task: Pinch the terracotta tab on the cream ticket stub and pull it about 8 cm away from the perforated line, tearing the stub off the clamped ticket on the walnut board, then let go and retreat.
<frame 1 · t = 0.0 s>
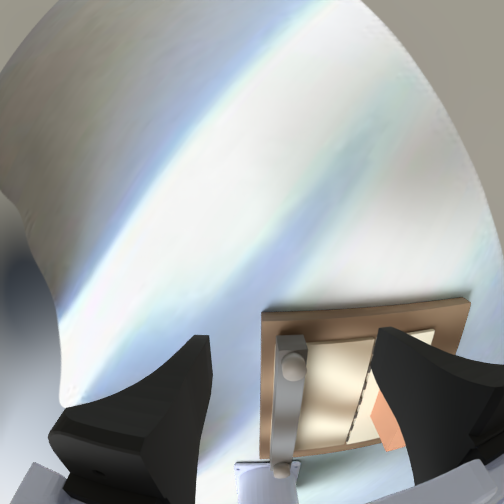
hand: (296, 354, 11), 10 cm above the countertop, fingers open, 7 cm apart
ticket board: (362, 387, 24), on the countertop
ticket stub: (398, 411, 20), point 4 cm above the countertop, slide at 0.0 cm
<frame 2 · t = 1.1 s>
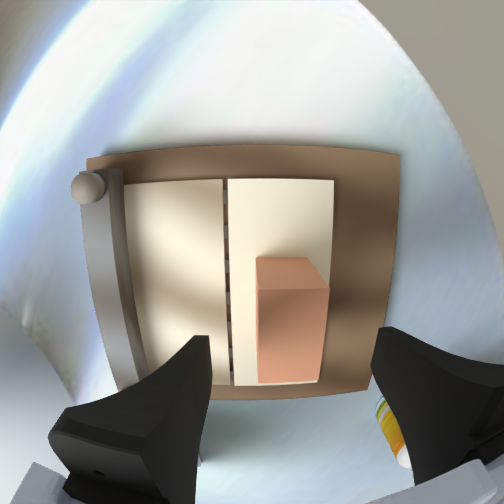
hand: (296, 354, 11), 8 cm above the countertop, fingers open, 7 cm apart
ticket board: (242, 286, 19), on the countertop
ticket stub: (284, 314, 15), point 4 cm above the countertop, slide at 0.0 cm
supplement bottle: (397, 399, 22), on the countertop
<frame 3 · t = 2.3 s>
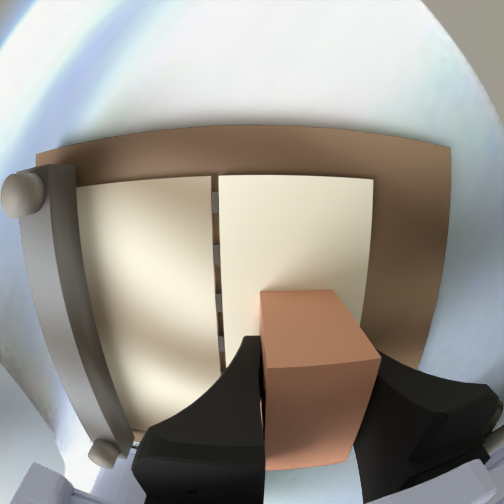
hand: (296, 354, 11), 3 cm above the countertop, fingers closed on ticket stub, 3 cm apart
ticket board: (241, 322, 14), on the countertop
ticket stub: (302, 375, 10), point 4 cm above the countertop, slide at 0.0 cm, touching gripper
apothecary jar: (468, 432, 18), on the countertop
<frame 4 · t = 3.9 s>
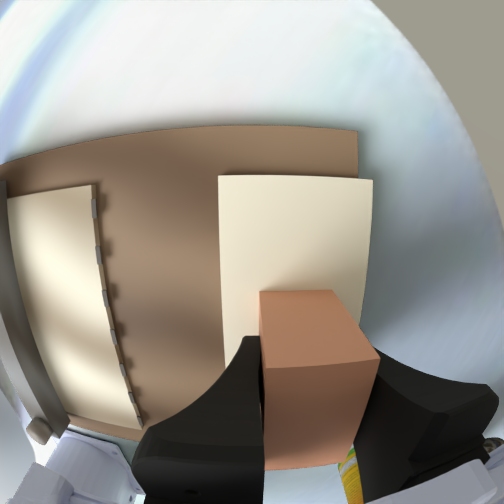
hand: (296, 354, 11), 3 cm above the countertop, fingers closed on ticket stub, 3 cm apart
ticket board: (142, 319, 14), on the countertop
ticket stub: (301, 375, 10), point 4 cm above the countertop, slide at 5.2 cm, touching gripper
supplement bottle: (366, 448, 17), on the countertop
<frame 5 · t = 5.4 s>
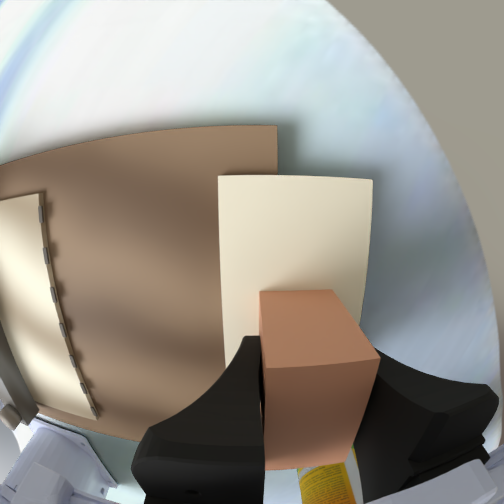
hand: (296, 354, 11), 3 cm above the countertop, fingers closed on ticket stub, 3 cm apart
ticket board: (91, 315, 14), on the countertop
ticket stub: (301, 375, 10), point 4 cm above the countertop, slide at 8.5 cm, touching gripper
supplement bottle: (329, 455, 17), on the countertop
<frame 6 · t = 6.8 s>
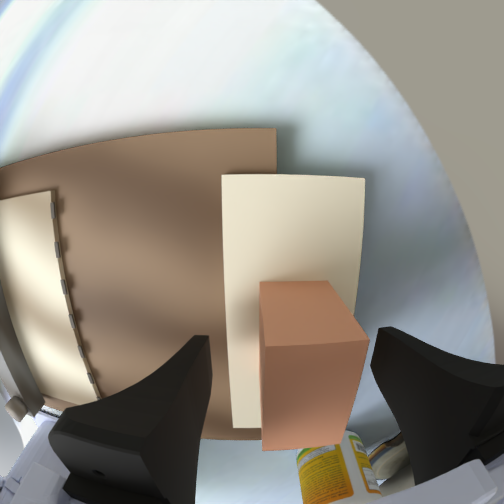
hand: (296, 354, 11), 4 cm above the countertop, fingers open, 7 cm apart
ticket board: (99, 307, 15), on the countertop
ticket stub: (298, 359, 11), point 4 cm above the countertop, slide at 8.5 cm
apothecary jar: (405, 449, 19), on the countertop
supplement bottle: (327, 446, 18), on the countertop
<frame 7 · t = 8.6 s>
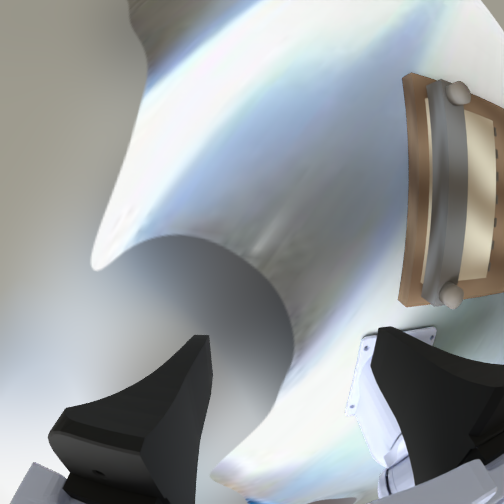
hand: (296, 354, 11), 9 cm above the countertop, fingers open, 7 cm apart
ticket board: (488, 198, 19), on the countertop
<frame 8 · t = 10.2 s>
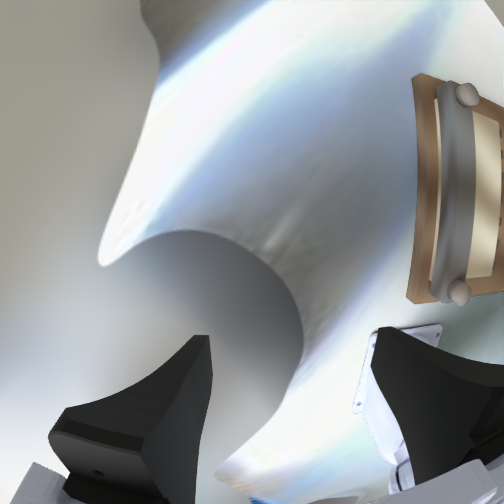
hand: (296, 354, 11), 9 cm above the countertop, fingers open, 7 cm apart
ticket board: (493, 197, 19), on the countertop
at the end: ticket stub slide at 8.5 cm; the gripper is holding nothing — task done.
